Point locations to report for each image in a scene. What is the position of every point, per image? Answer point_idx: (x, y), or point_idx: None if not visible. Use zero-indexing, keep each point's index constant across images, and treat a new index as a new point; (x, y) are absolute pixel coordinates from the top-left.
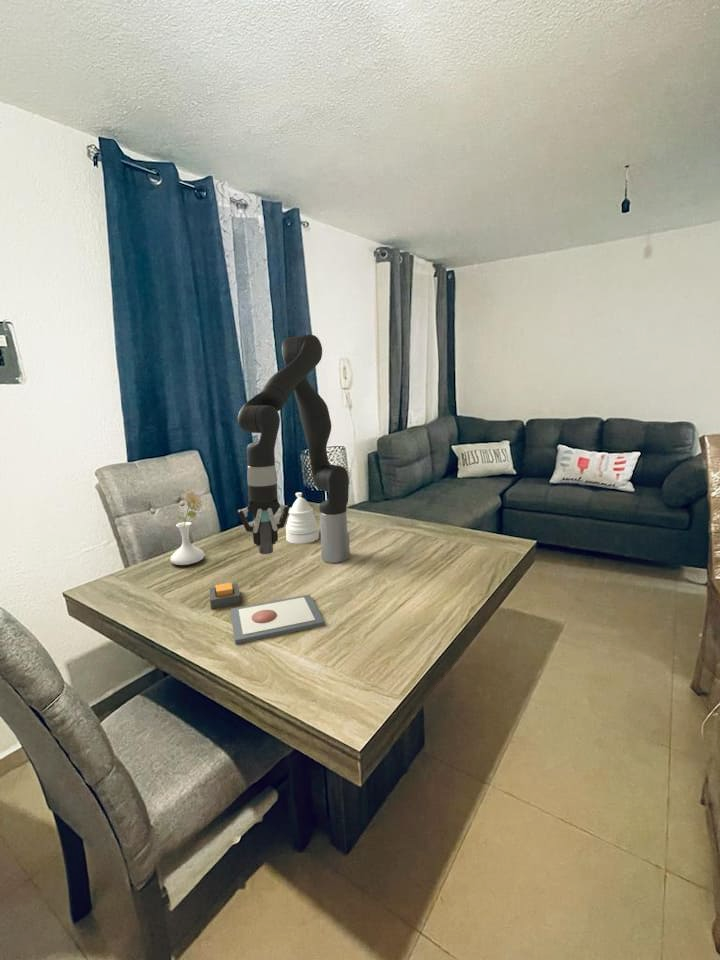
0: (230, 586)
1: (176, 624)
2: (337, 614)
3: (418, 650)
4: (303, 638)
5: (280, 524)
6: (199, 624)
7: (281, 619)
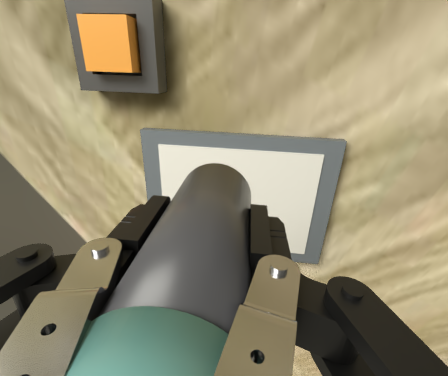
0: (124, 50)
1: (35, 129)
2: (360, 237)
3: None
4: None
5: (322, 365)
6: (83, 151)
7: None
